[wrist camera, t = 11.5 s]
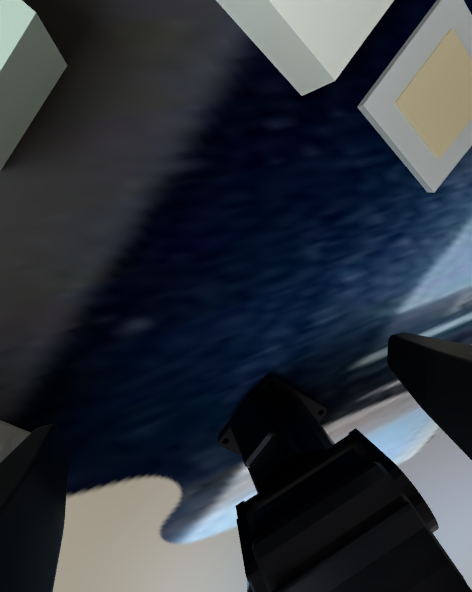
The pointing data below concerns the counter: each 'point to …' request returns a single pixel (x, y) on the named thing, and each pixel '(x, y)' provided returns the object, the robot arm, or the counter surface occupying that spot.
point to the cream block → (307, 34)
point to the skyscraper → (10, 438)
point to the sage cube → (23, 71)
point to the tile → (428, 95)
